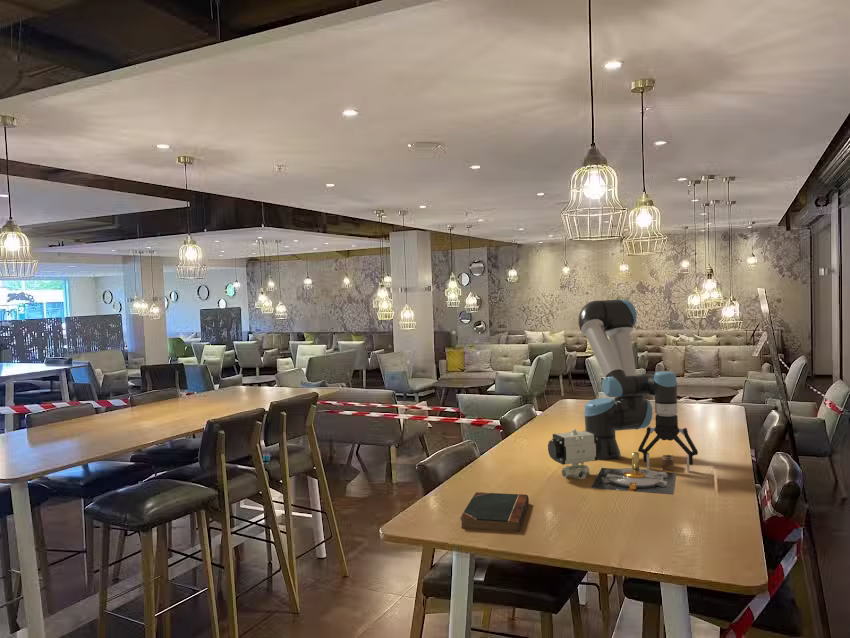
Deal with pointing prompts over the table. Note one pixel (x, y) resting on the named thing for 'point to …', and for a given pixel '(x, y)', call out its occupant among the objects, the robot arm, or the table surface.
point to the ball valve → (574, 451)
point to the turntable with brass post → (635, 476)
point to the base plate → (656, 489)
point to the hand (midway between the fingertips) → (668, 472)
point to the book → (495, 511)
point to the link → (668, 462)
